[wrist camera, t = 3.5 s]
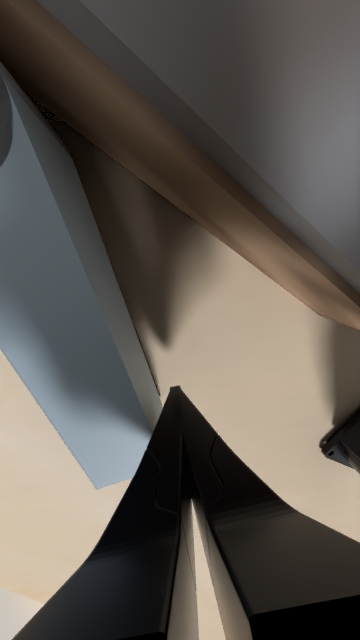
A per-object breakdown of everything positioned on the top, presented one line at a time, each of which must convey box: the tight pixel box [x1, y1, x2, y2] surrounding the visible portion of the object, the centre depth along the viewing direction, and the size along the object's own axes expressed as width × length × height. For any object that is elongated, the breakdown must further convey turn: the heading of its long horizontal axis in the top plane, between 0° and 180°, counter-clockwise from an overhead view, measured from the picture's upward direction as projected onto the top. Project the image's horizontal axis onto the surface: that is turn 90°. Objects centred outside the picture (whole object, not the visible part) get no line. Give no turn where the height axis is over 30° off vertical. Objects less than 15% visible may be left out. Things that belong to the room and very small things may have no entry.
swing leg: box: [0, 61, 162, 489], centre depth 7 cm, size 14×3×4 cm, turn 14°
